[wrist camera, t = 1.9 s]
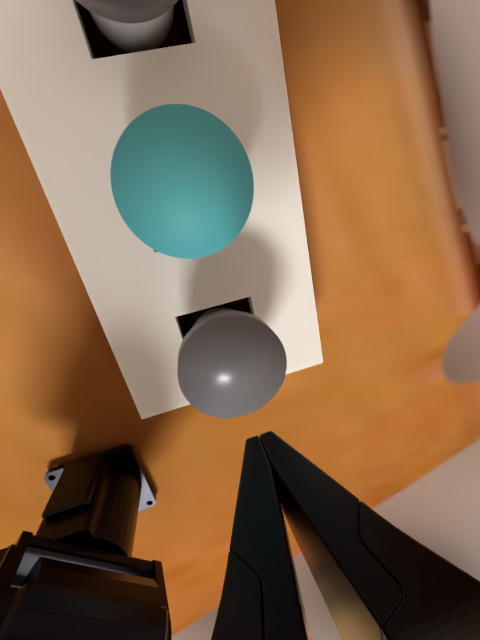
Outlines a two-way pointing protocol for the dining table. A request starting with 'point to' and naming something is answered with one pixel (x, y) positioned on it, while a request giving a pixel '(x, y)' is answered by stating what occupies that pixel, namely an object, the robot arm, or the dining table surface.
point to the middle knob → (182, 181)
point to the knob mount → (95, 181)
